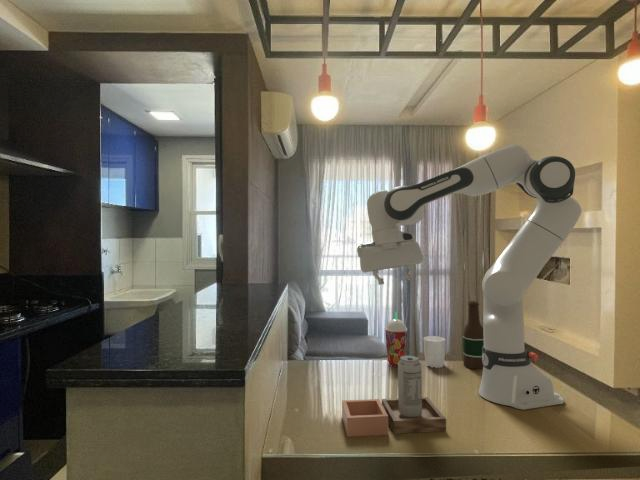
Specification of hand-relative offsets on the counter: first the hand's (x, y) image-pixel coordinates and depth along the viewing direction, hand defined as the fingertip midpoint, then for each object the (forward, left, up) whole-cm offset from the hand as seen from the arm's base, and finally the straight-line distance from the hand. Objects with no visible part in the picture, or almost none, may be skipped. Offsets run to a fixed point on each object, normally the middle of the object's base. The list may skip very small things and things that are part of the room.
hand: (395, 282), depth 119 cm
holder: (+15, +23, -34) cm, 43 cm away
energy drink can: (+2, +20, -33) cm, 39 cm away
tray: (+2, +21, -34) cm, 40 cm away
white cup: (-20, -21, -34) cm, 45 cm away
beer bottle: (-34, -18, -34) cm, 52 cm away
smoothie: (-6, -23, -34) cm, 42 cm away
